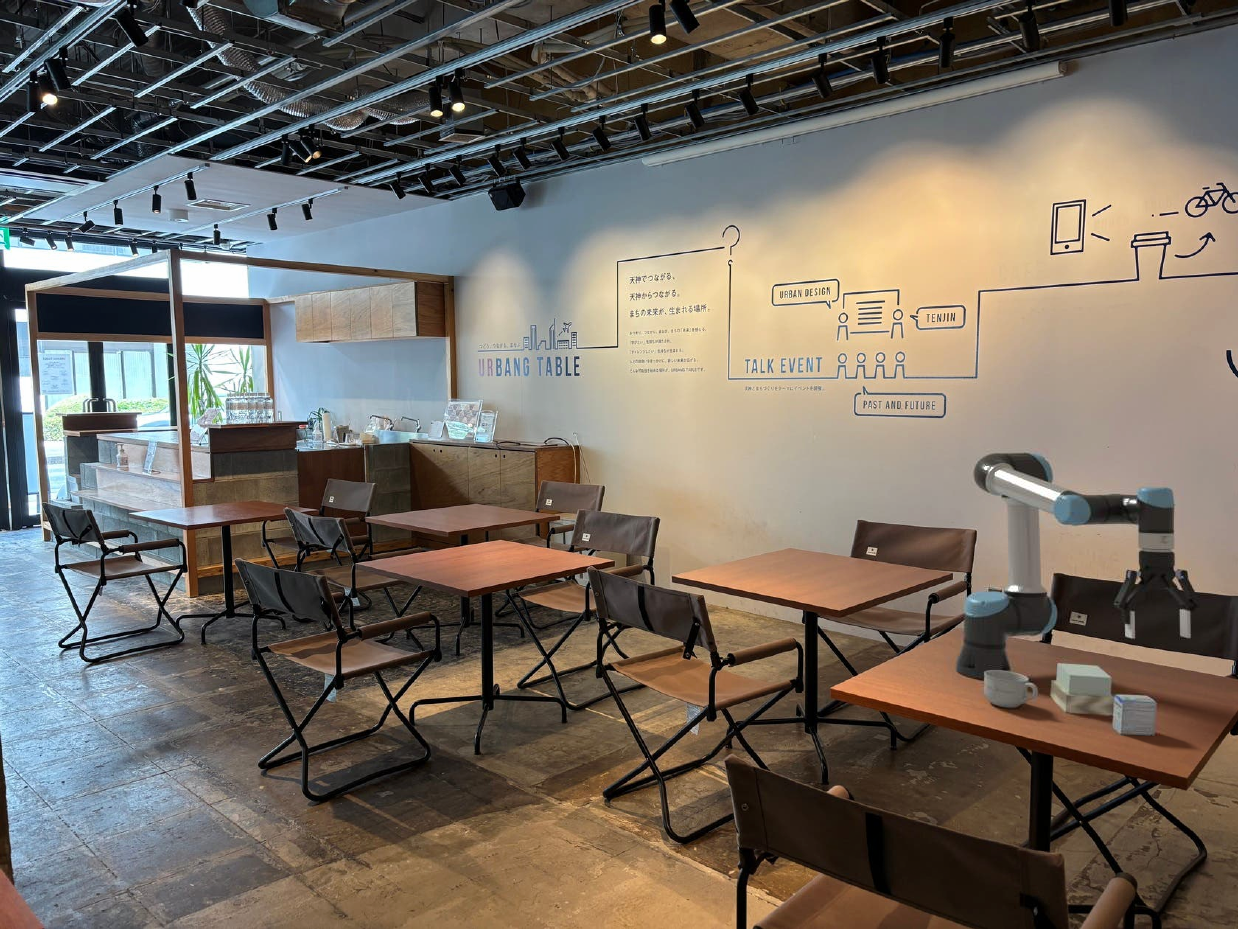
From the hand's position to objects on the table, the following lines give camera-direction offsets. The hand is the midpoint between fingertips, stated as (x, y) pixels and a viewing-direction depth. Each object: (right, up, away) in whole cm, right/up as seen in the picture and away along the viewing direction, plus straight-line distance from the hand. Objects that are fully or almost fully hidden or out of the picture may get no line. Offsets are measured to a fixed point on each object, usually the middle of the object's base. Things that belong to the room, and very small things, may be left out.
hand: (1157, 637), depth 213 cm
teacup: (-29, -22, +16) cm, 40 cm away
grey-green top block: (-9, -17, +17) cm, 26 cm away
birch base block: (-9, -22, +17) cm, 29 cm away
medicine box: (-6, -23, -1) cm, 24 cm away
